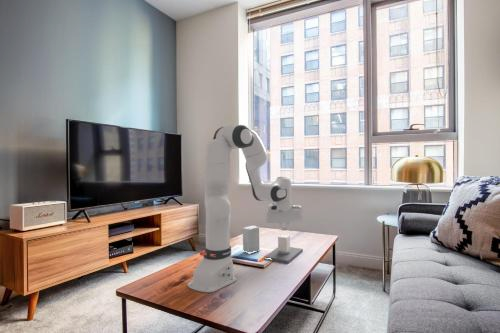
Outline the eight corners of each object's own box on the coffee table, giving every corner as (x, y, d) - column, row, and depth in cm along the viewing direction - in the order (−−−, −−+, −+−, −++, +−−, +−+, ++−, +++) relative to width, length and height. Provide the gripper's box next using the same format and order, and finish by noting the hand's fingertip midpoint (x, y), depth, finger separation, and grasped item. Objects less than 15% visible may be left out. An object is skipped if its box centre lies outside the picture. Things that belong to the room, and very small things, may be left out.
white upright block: (286, 252, 159) (286, 238, 159) (278, 250, 162) (278, 236, 162) (289, 249, 164) (289, 235, 163) (281, 248, 166) (281, 234, 166)
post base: (288, 263, 150) (288, 245, 150) (264, 259, 157) (264, 241, 156) (302, 251, 169) (302, 235, 169) (280, 247, 176) (280, 232, 176)
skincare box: (253, 249, 174) (253, 224, 173) (260, 251, 169) (259, 226, 169) (242, 252, 168) (242, 227, 168) (248, 255, 164) (248, 229, 163)
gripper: (300, 204, 166) (301, 228, 166) (265, 205, 165) (265, 229, 165) (303, 206, 159) (303, 231, 160) (266, 207, 158) (266, 232, 159)
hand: (283, 230), depth 162 cm, fingers closed
